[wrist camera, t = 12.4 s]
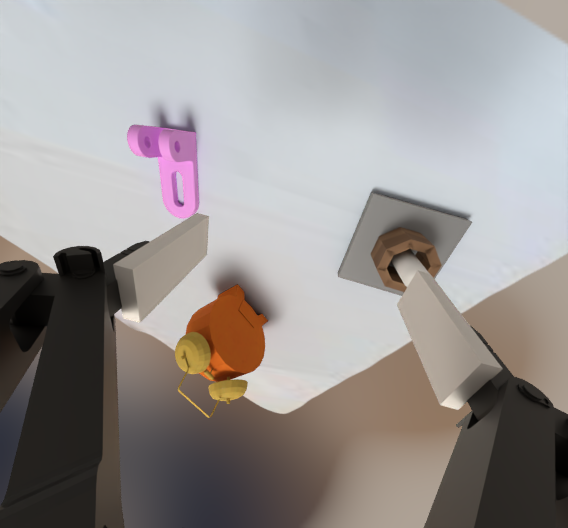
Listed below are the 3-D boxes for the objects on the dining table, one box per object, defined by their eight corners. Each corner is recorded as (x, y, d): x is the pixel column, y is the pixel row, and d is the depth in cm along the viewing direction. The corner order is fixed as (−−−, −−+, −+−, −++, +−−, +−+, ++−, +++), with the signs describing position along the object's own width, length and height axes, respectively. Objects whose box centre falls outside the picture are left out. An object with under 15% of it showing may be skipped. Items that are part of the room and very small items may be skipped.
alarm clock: (210, 290, 47) (141, 378, 29) (233, 277, 44) (172, 364, 27) (250, 335, 51) (210, 437, 33) (273, 325, 48) (243, 429, 31)
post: (371, 191, 34) (386, 207, 25) (466, 219, 33) (513, 243, 25) (337, 272, 40) (340, 305, 32) (416, 295, 40) (440, 335, 32)
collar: (385, 222, 34) (394, 234, 30) (435, 237, 34) (451, 251, 29) (364, 265, 37) (369, 281, 33) (409, 279, 37) (421, 297, 33)
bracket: (160, 127, 35) (124, 123, 28) (196, 132, 34) (167, 129, 28) (169, 213, 41) (141, 225, 35) (200, 218, 40) (177, 231, 34)
